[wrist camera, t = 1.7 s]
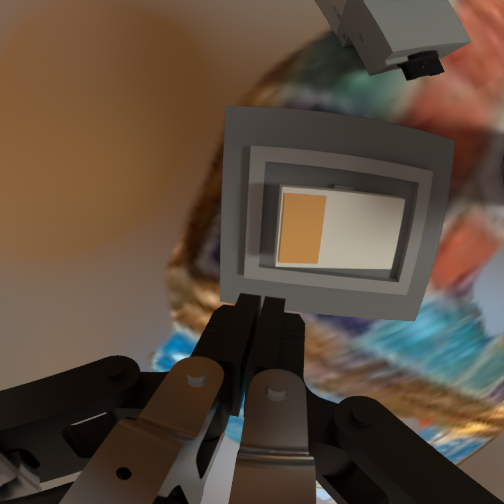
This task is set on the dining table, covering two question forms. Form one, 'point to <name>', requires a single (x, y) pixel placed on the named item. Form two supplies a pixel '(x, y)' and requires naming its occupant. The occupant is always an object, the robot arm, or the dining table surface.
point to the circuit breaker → (397, 33)
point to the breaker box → (335, 177)
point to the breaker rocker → (336, 228)
